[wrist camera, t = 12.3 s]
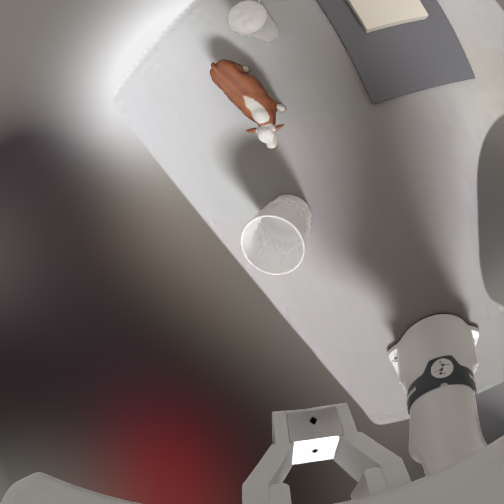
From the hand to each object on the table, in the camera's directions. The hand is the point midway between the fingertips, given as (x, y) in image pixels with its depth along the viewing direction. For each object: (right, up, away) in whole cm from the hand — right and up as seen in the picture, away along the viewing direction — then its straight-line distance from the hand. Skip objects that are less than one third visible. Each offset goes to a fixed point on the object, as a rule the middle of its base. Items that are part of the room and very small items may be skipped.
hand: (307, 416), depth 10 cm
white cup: (+3, +12, +33) cm, 35 cm away
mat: (+15, +37, +14) cm, 42 cm away
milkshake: (0, +36, +20) cm, 41 cm away
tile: (+16, +34, +13) cm, 40 cm away
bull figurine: (-1, +27, +25) cm, 37 cm away
